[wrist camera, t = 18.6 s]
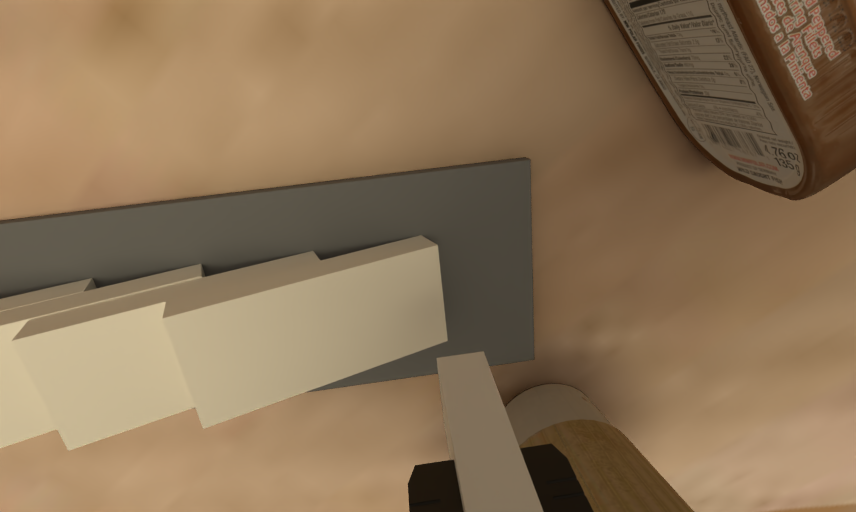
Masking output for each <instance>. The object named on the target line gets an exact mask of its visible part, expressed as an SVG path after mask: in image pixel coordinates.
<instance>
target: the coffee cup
mask: <svg viewBox="0 0 856 512" xmlns="http://www.w3.org/2000/svg"><path fill="white" fill-rule="evenodd" d="M505 410H506V413H507V415H508V418H509V421H510V423H511V426H512V429H513V431H514V434H515V437H516V439H517V442H518V445H519V448H525V447H531V446H538V445H545V444H551V443H552V444H553V445H554V446H555V447H556V448H557V449H558V450H559V451H560V452H561V453H562V454H564V455H565V456H566V457H567V458H568V460H569V462H570V465H571V467H572V469H573V471H574V473H575V475H576V478H577V480H578V481H579V483H580V485H581V487H582V489H583V491H584V495H585V496H586V497H587V499H588V501H589V503H590V505H591V507H592V509H593V511H594V512H694V511H693V510H692V509H691V508H690V507H689V506H688V505H687V503H686V502H685V501H684V500H683V499H682V498H681V497H680V496H679V495H678V494H677V492H676V491H675V490H674V489H673V488H672V487H671V486H670V485H669V484H668V482H667V481H666V480H665V479H664V478H663V477H662V476H661V475H660V474H659V473H658V471H657V470H656V469H655V468H654V467H653V466H652V465H651V464H650V463H649V462H648V460H647V459H646V458H645V457H644V456H643V455H642V454H641V453H640V452H639V451H638V449H637V448H636V447H635V446H634V445H633V444H632V443H631V442H630V441H629V439H628V438H627V437H626V436H625V435H624V434H623V433H621V432H620V431H619V430H618V429H617V428H615V427H613V426H612V425H611V424H610V422H609V421H608V420H607V419H606V418H605V417H604V416H603V414H602V413H601V412H600V411H599V410H598V409H597V408H596V407H595V405H594V404H593V403H592V402H591V401H590V400H589V399H588V398H587V396H586V395H584V394H583V393H582V392H581V391H579V390H577V389H575V388H573V387H571V386H567V385H564V384H545V385H540V386H536V387H533V388H531V389H528V390H526V391H524V392H522V393H521V394H519V395H518V396H516V397H515V398H514V399H513V400H512V401H511V402H509V403H508V405H507V406H506V407H505Z"/></svg>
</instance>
